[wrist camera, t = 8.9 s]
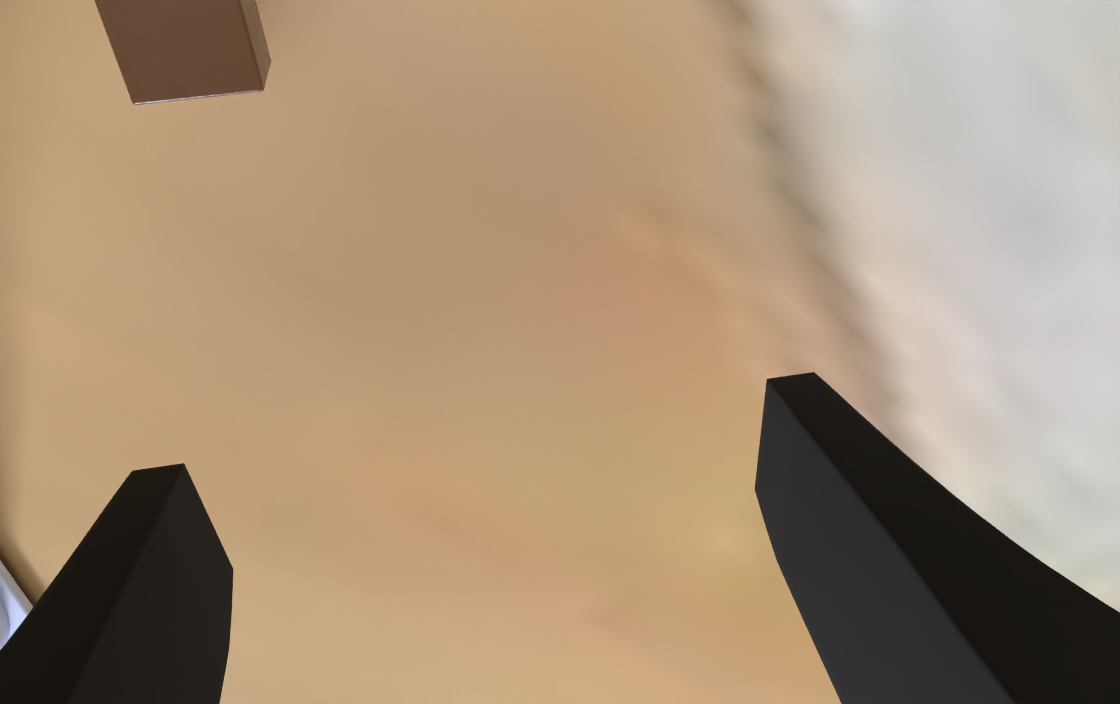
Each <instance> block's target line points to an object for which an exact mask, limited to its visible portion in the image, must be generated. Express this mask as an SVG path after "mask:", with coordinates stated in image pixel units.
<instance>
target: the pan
mask: <svg viewBox="0 0 1120 704" xmlns="http://www.w3.org/2000/svg"><path fill="white" fill-rule="evenodd" d="M95 3H96V6H97V8H98V11H99V14H100V17H101V19H102V22H103V25H104V27H105V30H106V33H107V35H108V38H109V41H110V44H111V46H112V49H113V52H114V54H115V57H116V60H117V62H118V65H119V68H120V71H121V73H122V76H123V79H124V81H125V84H126V87H127V90H128V92H129V95H130V98H131V100H132V102H133V104H135V105H139V104H148V103H158V102H167V101H176V100H186V99H195V98H204V97H213V96H223V95H232V94H241V93H251V92H260V91H263V90H264V87H265V83H266V79H267V75H268V72H269V68H270V64H271V59H270V55H269V51H268V47H267V43H266V39H265V36H264V32H263V28H262V24H261V20H260V16H259V13H258V9H257V5H256V1H255V0H95Z"/></svg>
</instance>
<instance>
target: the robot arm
mask: <svg viewBox="0 0 1120 704" xmlns="http://www.w3.org/2000/svg"><path fill="white" fill-rule="evenodd" d="M755 492H756V495H757V499H758V502H759V505H760V509H761V512H762V515H763V519H764V522H765V525H766V529H767V532H768V535H769V538H770V541H771V544H772V547H773V550H774V553H775V556H776V559H777V562H778V564H779V566H780V569H781V571H782V573H783V576H784V578H785V580H786V582H787V585H788V587H789V589H790V591H791V593H792V596H793V598H794V600H795V602H796V605H797V607H798V609H799V611H800V614H801V616H802V618H803V620H804V622H805V625H806V627H807V629H808V631H809V633H810V635H811V638H812V640H813V642H814V644H815V646H816V649H817V651H818V653H819V655H820V657H821V660H822V662H823V664H824V666H825V668H826V671H827V673H828V675H829V677H830V679H831V681H832V684H833V686H834V688H835V690H836V692H837V695H838V697H839V699H840V701H841V703H842V704H1120V612H1118V611H1116V610H1115V609H1113V608H1111V607H1110V606H1108V605H1107V604H1105V603H1103V602H1102V601H1100V600H1099V599H1097V598H1096V597H1094V596H1093V595H1091V594H1090V593H1088V592H1087V591H1085V590H1084V589H1082V588H1081V587H1079V586H1078V585H1076V584H1075V583H1073V582H1071V581H1070V580H1068V579H1067V578H1065V577H1064V576H1062V575H1061V574H1059V573H1058V572H1056V571H1055V570H1053V569H1052V568H1050V567H1049V566H1047V565H1046V564H1044V563H1043V562H1041V561H1040V560H1039V559H1037V558H1036V557H1034V556H1033V555H1032V554H1030V553H1029V552H1027V551H1026V550H1024V549H1023V548H1022V547H1020V546H1019V545H1018V544H1016V543H1015V542H1014V541H1012V540H1011V539H1010V538H1008V537H1007V536H1006V535H1004V534H1003V533H1002V532H1000V531H999V530H998V529H996V528H995V527H994V526H992V525H991V524H990V523H989V522H987V521H986V520H985V519H983V518H982V517H981V516H979V515H978V514H977V513H976V512H974V511H973V510H972V509H971V508H969V507H968V506H967V505H966V504H964V503H963V502H962V501H961V500H959V499H958V498H957V497H955V496H954V495H953V494H952V493H951V492H949V491H948V490H947V489H946V488H945V487H944V486H942V485H941V484H940V483H939V482H938V481H936V480H935V479H934V478H933V477H932V476H930V475H929V474H928V473H927V472H926V471H924V470H923V469H922V468H921V467H920V466H918V465H917V464H916V463H915V462H914V461H913V460H911V459H910V458H909V457H908V456H907V455H906V454H904V453H903V452H902V451H901V450H900V449H899V448H898V447H896V446H895V445H894V444H893V443H892V442H891V441H890V440H889V439H888V438H886V437H885V436H884V435H883V434H882V433H881V432H880V431H879V430H877V429H876V428H875V427H874V426H873V425H872V424H871V423H870V422H869V421H867V420H866V419H865V418H864V417H863V416H862V415H861V414H860V413H859V412H858V411H856V410H855V409H854V408H853V407H852V406H851V405H850V404H849V403H848V402H847V401H846V400H844V399H843V398H842V397H841V396H840V395H839V394H838V393H837V392H836V391H835V390H834V389H832V388H831V387H830V386H829V385H828V384H827V383H826V382H825V381H824V380H822V379H821V378H820V377H819V376H818V375H817V374H815V373H814V372H812V373H805V374H798V375H791V376H784V377H777V378H770V379H767V383H766V392H765V401H764V410H763V419H762V428H761V437H760V446H759V455H758V464H757V473H756V482H755ZM232 590H233V568H232V565H231V563H230V561H229V559H228V557H227V555H226V552H225V550H224V548H223V546H222V544H221V542H220V540H219V537H218V535H217V533H216V531H215V529H214V527H213V525H212V522H211V520H210V518H209V516H208V514H207V512H206V509H205V507H204V505H203V503H202V501H201V499H200V497H199V494H198V492H197V490H196V488H195V486H194V484H193V482H192V479H191V477H190V475H189V473H188V471H187V469H186V466H185V464H184V463H183V464H176V465H169V466H162V467H155V468H148V469H141V470H135V471H132V472H131V473H130V475H129V476H128V477H127V478H126V480H125V481H124V482H123V484H122V485H121V487H120V488H119V489H118V491H117V492H116V493H115V495H114V496H113V498H112V499H111V500H110V502H109V503H108V505H107V506H106V507H105V509H104V510H103V512H102V513H101V514H100V516H99V517H98V519H97V520H96V521H95V523H94V524H93V526H92V527H91V529H90V530H89V531H88V533H87V534H86V536H85V537H84V538H83V540H82V541H81V543H80V544H79V545H78V547H77V548H76V550H75V551H74V552H73V554H72V555H71V557H70V558H69V559H68V561H67V562H66V564H65V565H64V566H63V568H62V569H61V571H60V572H59V573H58V575H57V576H56V577H55V579H54V580H53V581H52V583H51V584H50V585H49V587H48V588H47V589H46V591H45V592H44V593H43V595H42V596H41V597H40V599H39V600H38V601H37V603H36V604H35V605H34V607H33V606H32V604H31V603H30V602H29V600H28V599H27V597H26V596H25V595H24V593H23V592H22V590H21V589H20V587H19V586H18V585H17V583H16V582H15V580H14V579H13V577H12V576H11V575H10V573H9V572H8V570H7V569H6V568H5V566H4V565H3V563H2V562H1V560H0V704H219V703H220V697H221V692H222V686H223V681H224V675H225V670H226V664H227V658H228V652H229V643H230V628H231V613H232Z"/></svg>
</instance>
